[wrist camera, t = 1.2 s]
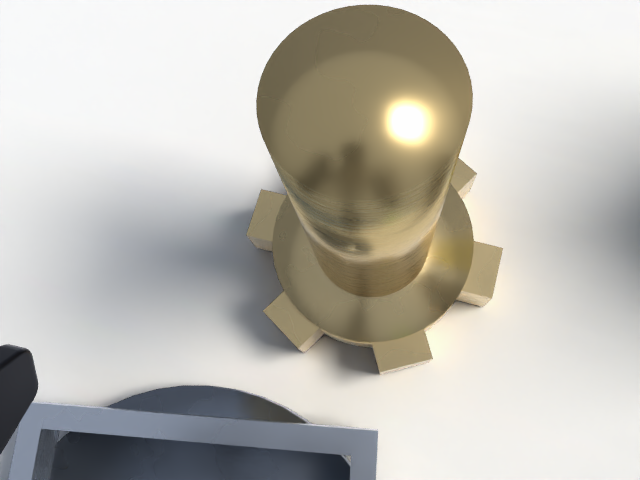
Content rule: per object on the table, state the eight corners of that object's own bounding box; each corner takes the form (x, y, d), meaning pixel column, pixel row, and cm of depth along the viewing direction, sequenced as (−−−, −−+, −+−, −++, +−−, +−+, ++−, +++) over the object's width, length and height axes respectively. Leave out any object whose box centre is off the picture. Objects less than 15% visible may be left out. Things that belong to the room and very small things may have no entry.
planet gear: (519, 339, 21) (687, 260, 9) (290, 398, 21) (183, 391, 10) (446, 124, 23) (508, -143, 12) (241, 179, 24) (111, -31, 12)
